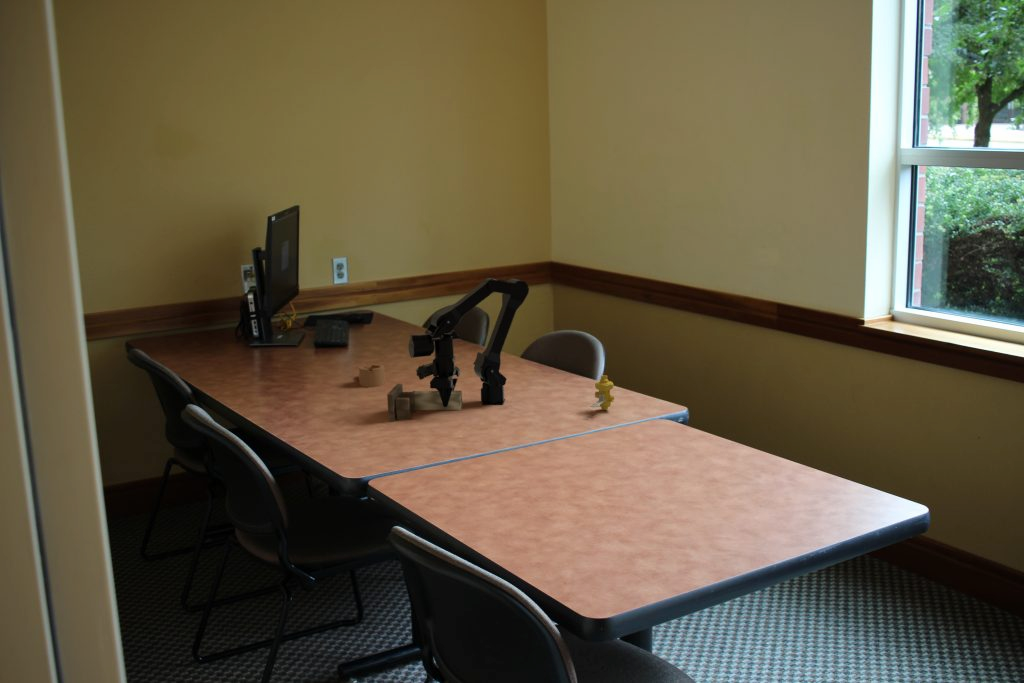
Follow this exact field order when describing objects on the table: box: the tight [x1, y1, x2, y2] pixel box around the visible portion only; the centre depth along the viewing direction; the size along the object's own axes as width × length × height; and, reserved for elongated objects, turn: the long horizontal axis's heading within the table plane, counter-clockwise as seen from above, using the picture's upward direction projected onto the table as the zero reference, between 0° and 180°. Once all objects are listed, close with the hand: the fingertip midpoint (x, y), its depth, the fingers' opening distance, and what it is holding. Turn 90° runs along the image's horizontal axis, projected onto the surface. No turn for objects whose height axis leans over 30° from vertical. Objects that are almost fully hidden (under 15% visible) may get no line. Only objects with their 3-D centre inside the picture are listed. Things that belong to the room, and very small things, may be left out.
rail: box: [411, 390, 463, 411], centre depth 300 cm, size 15×4×5 cm, turn 85°
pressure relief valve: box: [589, 374, 615, 411], centre depth 289 cm, size 6×12×10 cm, turn 155°
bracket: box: [358, 363, 386, 388], centre depth 337 cm, size 18×8×7 cm, turn 11°
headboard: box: [386, 383, 416, 423], centre depth 292 cm, size 6×14×8 cm, turn 175°
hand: (446, 405), depth 300 cm, fingers closed on rail, 4 cm apart
